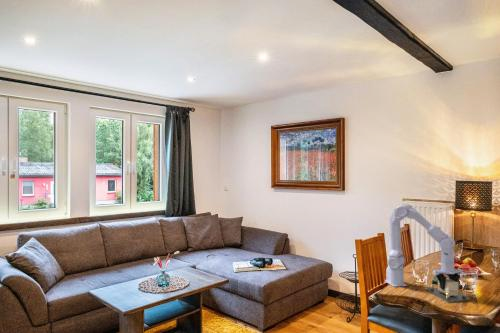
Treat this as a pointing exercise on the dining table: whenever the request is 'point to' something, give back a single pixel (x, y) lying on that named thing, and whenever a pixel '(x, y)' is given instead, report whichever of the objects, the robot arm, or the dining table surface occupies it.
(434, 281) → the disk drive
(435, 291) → the chassis
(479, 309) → the dining table surface
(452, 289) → the module block
